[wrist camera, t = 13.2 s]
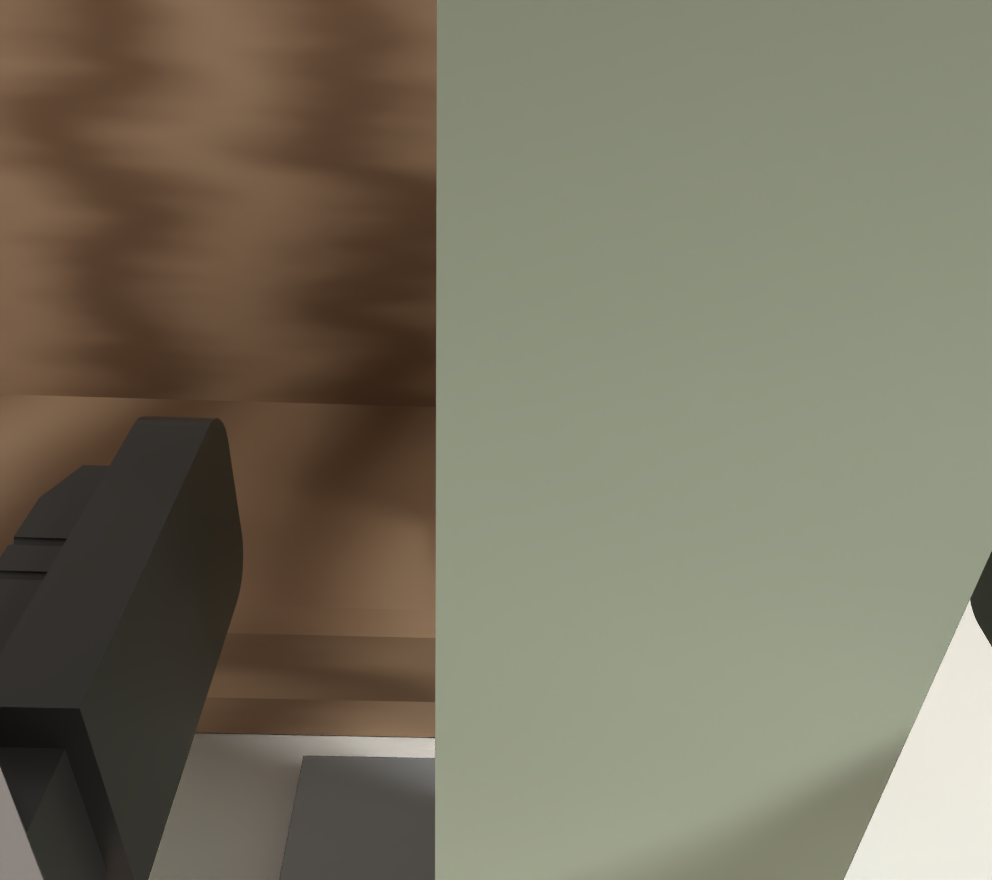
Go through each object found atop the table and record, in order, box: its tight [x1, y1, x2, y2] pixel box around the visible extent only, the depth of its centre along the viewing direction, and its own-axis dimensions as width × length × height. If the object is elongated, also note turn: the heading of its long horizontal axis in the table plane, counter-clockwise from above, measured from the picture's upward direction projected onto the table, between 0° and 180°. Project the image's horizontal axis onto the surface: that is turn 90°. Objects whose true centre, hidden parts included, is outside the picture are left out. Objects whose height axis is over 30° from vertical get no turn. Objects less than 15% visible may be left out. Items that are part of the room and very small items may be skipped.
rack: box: [0, 0, 437, 737], centre depth 21 cm, size 24×13×18 cm, turn 90°
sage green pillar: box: [435, 0, 992, 880], centre depth 11 cm, size 4×5×17 cm
